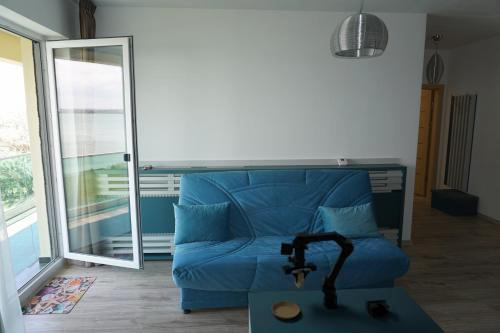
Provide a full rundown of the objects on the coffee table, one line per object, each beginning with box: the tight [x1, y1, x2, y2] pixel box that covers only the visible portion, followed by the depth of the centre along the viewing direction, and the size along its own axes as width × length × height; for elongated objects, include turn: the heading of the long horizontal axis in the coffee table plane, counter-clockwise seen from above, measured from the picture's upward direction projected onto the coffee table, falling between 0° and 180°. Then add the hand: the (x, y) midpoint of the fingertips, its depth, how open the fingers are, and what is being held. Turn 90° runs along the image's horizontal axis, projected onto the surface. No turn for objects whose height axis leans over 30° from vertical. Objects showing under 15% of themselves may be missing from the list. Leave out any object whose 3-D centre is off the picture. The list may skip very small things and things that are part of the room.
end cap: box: [364, 298, 390, 318], centre depth 174 cm, size 10×7×7 cm
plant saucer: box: [271, 300, 301, 320], centre depth 175 cm, size 15×15×3 cm
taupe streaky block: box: [294, 270, 305, 289], centre depth 183 cm, size 3×5×8 cm, turn 15°
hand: (299, 282), depth 184 cm, fingers closed on taupe streaky block, 3 cm apart
